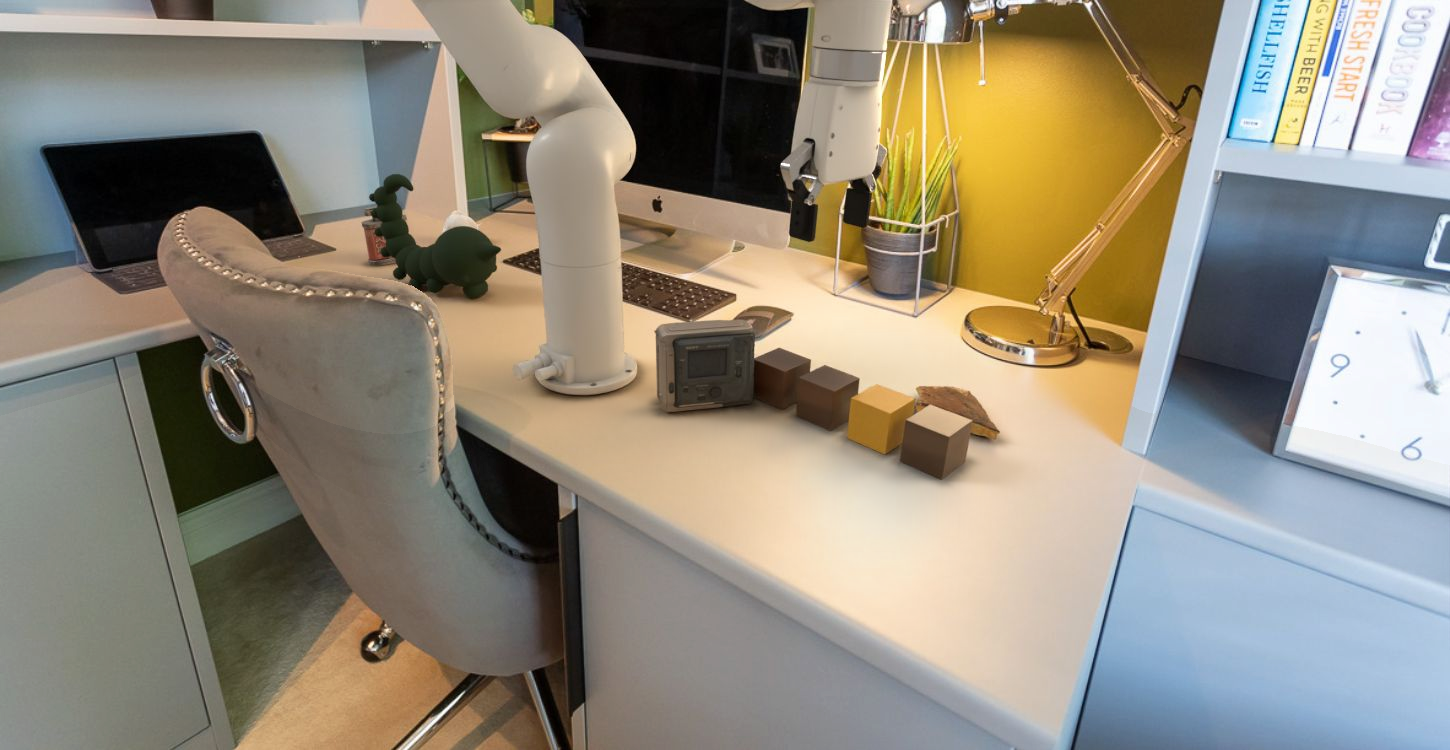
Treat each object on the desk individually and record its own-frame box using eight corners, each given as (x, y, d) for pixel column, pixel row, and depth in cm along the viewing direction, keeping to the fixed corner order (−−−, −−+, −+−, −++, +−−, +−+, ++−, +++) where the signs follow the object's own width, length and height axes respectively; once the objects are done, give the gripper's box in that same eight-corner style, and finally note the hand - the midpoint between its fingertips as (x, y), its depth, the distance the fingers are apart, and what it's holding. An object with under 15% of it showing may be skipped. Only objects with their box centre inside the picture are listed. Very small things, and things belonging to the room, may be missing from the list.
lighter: (405, 253, 144) (396, 199, 140) (416, 257, 142) (408, 202, 138) (364, 263, 138) (354, 207, 134) (375, 267, 136) (366, 210, 132)
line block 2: (830, 431, 88) (834, 391, 86) (795, 415, 91) (798, 377, 89) (855, 416, 91) (860, 377, 89) (821, 402, 94) (824, 364, 92)
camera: (745, 389, 97) (748, 314, 93) (756, 411, 92) (760, 332, 88) (653, 396, 95) (652, 319, 90) (660, 419, 90) (659, 338, 85)
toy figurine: (374, 295, 128) (487, 311, 117) (346, 178, 121) (464, 182, 110) (419, 279, 136) (529, 293, 125) (395, 168, 129) (510, 172, 117)
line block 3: (941, 480, 79) (949, 437, 77) (899, 461, 83) (905, 419, 80) (965, 461, 83) (973, 420, 81) (923, 444, 86) (930, 404, 84)
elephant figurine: (439, 241, 152) (435, 210, 149) (481, 237, 155) (478, 207, 153) (445, 250, 146) (441, 219, 144) (488, 246, 150) (485, 215, 147)
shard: (998, 443, 86) (1000, 429, 86) (929, 443, 86) (931, 428, 85) (967, 398, 96) (970, 385, 95) (906, 398, 96) (908, 385, 95)
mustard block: (884, 454, 84) (890, 413, 81) (846, 438, 87) (850, 397, 85) (909, 438, 87) (915, 398, 85) (871, 422, 90) (876, 383, 88)
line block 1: (782, 410, 92) (784, 371, 90) (750, 396, 95) (752, 358, 93) (808, 396, 96) (811, 359, 93) (776, 383, 99) (779, 347, 97)
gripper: (865, 63, 88) (848, 213, 96) (763, 66, 77) (752, 236, 84) (923, 69, 84) (900, 227, 91) (823, 73, 72) (806, 253, 80)
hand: (829, 231), depth 88 cm, fingers open, 9 cm apart
